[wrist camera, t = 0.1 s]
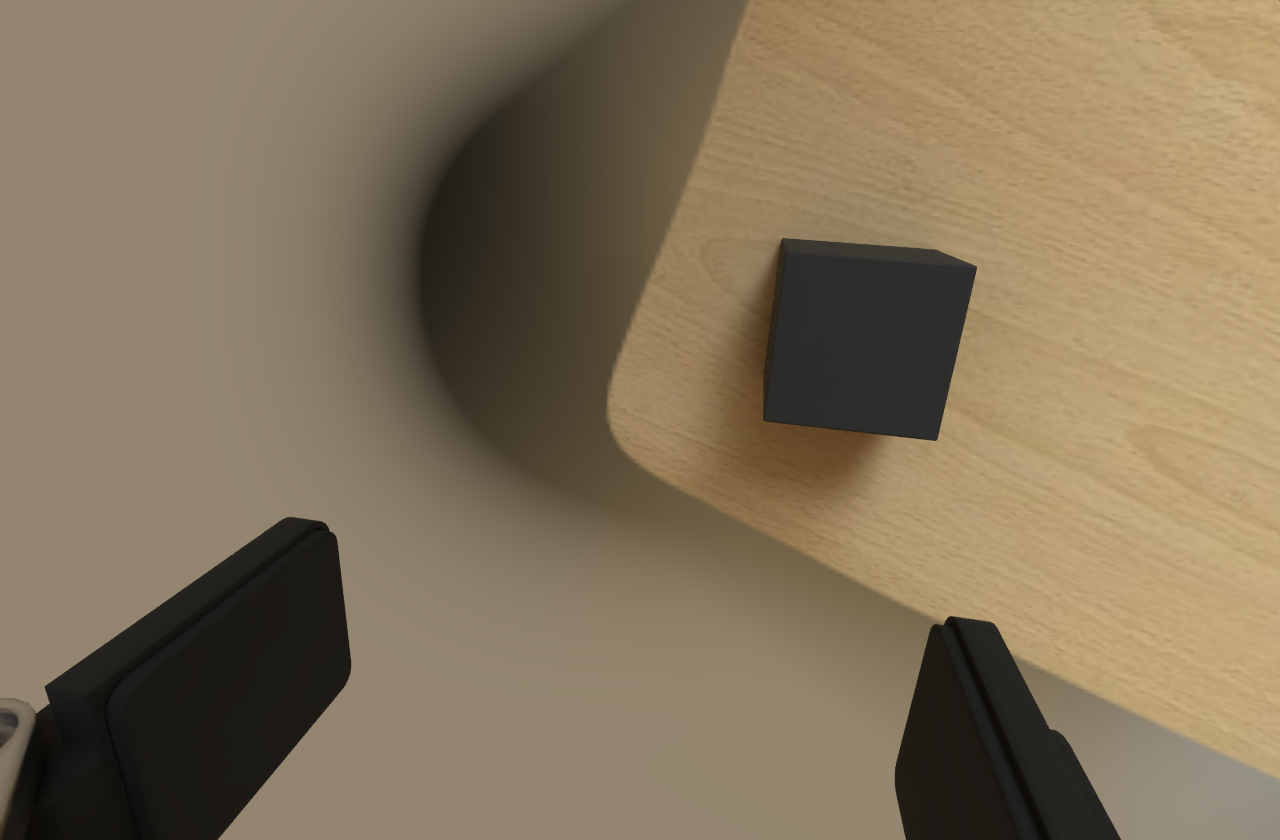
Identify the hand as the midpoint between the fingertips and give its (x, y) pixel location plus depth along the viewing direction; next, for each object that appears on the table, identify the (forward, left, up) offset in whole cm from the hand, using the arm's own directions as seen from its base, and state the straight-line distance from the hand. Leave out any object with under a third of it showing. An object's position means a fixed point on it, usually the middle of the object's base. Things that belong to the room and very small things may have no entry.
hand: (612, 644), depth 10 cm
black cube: (-3, +5, -15) cm, 16 cm away
